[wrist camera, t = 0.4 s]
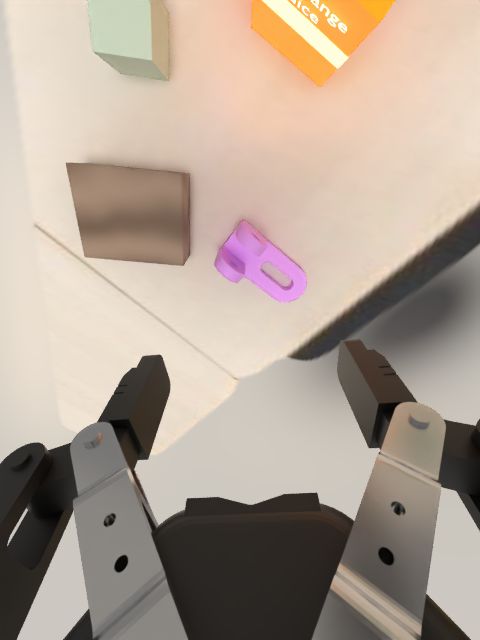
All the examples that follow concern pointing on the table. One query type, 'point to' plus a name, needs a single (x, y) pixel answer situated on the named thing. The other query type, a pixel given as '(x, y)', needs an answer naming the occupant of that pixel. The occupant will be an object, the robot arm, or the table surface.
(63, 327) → the table surface
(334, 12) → the orange juice
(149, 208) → the plate
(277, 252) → the bracket
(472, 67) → the table surface
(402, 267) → the table surface
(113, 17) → the sage block
